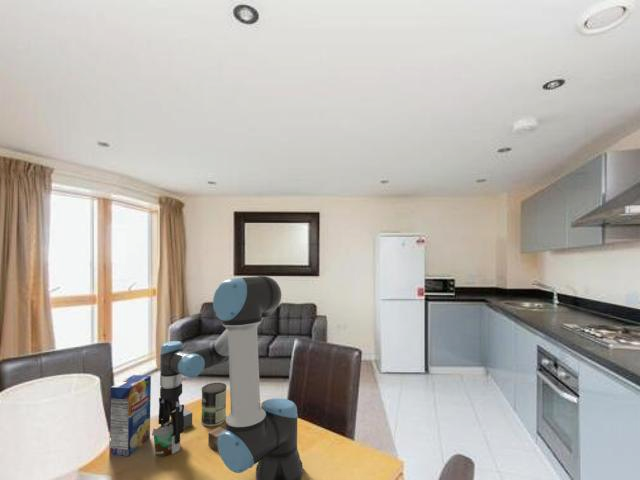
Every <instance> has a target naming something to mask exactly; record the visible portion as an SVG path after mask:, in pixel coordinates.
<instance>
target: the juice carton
mask: <svg viewBox="0 0 640 480" xmlns="http://www.w3.org/2000/svg"><path fill="white" fill-rule="evenodd" d="M151 382H152V375H144V374H143V375H140V374H132V375H131V376H128V377H127V378H125V379H124V380H122V381H120V382H117V383H116V384H114V385H112V386H110V393H109V394H110V397H109V398H110V403H109V407H110V408H109V409H110V410H109V439H110V438H111V441H110V440H109V444H108V445H109V448H108V449H109V450H108V451H109V452H108V453H109V456H115V457H124V458H125V457H126V458H128V457H130V456H131V455H132V454H134V453H135V451H137V450H138V449H139V448H140V447H141V446H142V445H144V444H145V443H146V442H147V441H149V440H150V439H151V401H152V400H151V396H152V393H151V391H152V390H151V389H152V387H151V386H152V383H151Z"/></svg>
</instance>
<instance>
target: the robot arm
mask: <svg viewBox="0 0 640 480" xmlns="http://www.w3.org/2000/svg"><path fill="white" fill-rule="evenodd" d="M218 285H219V286H218V287H217V288H216V290H215V292H214V294H213V299H212V306H213V307H212V308H213V311H214V312H215V316H216V317H217V318H218V319H219V320H220V321H222V322H221V325H222V326H223V327H224V328H225V330H224V331H223V332H222V333H221V335H219V337H218V338H217V339H216V340H215V342H213V343H212V345H208V346H205V347H202V348H198V349H194V350H191V351H187V350H184V346H183V342H182V341H178V340H172V341H167V342H164V343H163V344H161V346H160V354H159V355H160V356H159V357H160V359H159V362H160V366H159V367H160V368H159V369H160V370H159V371H160V375H159V378H160V379H159V385H160V388H159V389H160V390H159V398H158V404H159V405H158V406H159V407H158V425H160V426H162V425H163V424H164V423H165V422H167V421H169V420H171V421H172V425H173V434H172V453H171V454H172V455H174V454H175V453H177V452H179V451H180V450H181V434H183V433H185V428H184V413H183V411H184V410H185V405H184V404H181V403H180V397H181V395H182V394H183V377H189V378H196V377H198V376H199V375H200V374H201V373H202V372H204V371H203V370H206V369H208V368H209V369H210V368H211V367H215V366H219V365H221V364H222V365H223V364H225V363H228V366H229V367H228V370H229V372H228V373H229V397H230V398H229V400H230V412H229V413H228V415H226V420H225V430H226V431H223V432H222V433H221V434H220V436H219V437H218V443H217V444H218V450H217V451H218V454H219V456H220V459H221V460H222V462H223V464H224V465H225V466H226V468H228V470H230V471H231V472H233V473H235V474H241V473H244V472H245V471H247V470H249V469H251V468H253V467H254V465H256V464H257V465H256V468H255V480H302V478H303V469H304V466H303V462H302V459H301V456H300V453H299V449H298V417H299V416H298V407H297V404H296V403H295V402H294V401H292V400H291V399H290V400H289V399H286V398H280V397H275V398H269V399H266V400H264V401H263V402H261V394H260V393H261V388H260V367H259V366H260V365H259V363H260V362H259V344H258V343H259V342H258V327H259V325H260V324H262V321H263V320H264V319H268V318H269V317H271V315H272V314H273V313H274V312H275V311H276V310H277V308H278V307H279V305H280V303H281V300H282V291H281V287H280V285H279V283H278V282H277V281H276V280H275V279H273V278H272V277H270V276H267V275H266V276H265V275H259V276H251V277H250V276H247V277H235V278H230V279H226V280H224V281H222V282H220V284H218Z"/></svg>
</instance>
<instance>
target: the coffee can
mask: <svg viewBox="0 0 640 480" xmlns="http://www.w3.org/2000/svg"><path fill="white" fill-rule="evenodd" d="M226 417H227V384H226V383H223V382H211V383H208V384H205V385H204V386H202V387H201V420H200V421H201V423H200V424H202V426H205V427H215V426H219V425H221V424H223V423H225V422H226Z"/></svg>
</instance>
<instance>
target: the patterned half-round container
mask: <svg viewBox="0 0 640 480" xmlns="http://www.w3.org/2000/svg"><path fill="white" fill-rule="evenodd" d="M172 434H173V425H172V421H171V419H170V420H169V421H167V422H165V423H164V424H163V425H162V426H161V425H160V426H159V427H158V428H153V430H152V434H151V436H153V443H154V454H155V457H163V456H168V455H171V454H172Z"/></svg>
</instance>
